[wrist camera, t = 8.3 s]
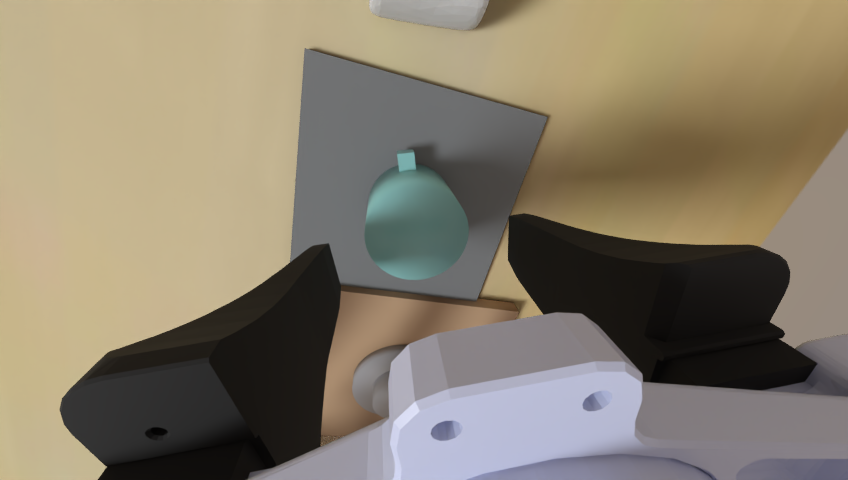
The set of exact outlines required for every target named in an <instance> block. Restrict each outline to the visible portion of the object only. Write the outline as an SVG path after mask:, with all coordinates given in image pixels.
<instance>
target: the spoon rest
mask: <svg viewBox="0 0 848 480" xmlns="http://www.w3.org/2000/svg"><path fill="white" fill-rule="evenodd" d="M488 3H489V0H370V1H369V7H370V11H371V12H372V13H373V14H375V15H377V16H379V17H383V18H388V19H393V20H398V21H405V22H411V23H417V24H422V25H428V26H435V27H442V28H449V29H456V30H471V29H474V28H475V27H477V26H478V24H479V23H480V21H481V19H482V17H483V15H484V13H485V11H486V8H487V6H488Z"/></svg>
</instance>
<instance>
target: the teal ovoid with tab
mask: <svg viewBox="0 0 848 480" xmlns="http://www.w3.org/2000/svg"><path fill="white" fill-rule="evenodd" d="M397 158H398V165H397V166H394V167H392V168H390V169H388V170H387V171H385V172H384V173H383V174H382V175H380V177H379V178H378V179H377V180H376V181H375V183H374V184H373V186H372V189H371V191H370V194H369V200H368V208H367V215H366V223H365V232H364V238H365V244H366V248H367V251H368V253H369V255H370V257H371V258H372V260H373V261H374V262H375V264H376V265H377V266H378V267H380V268H381V269H382V270H383V271H385V272H386V273H388V274H390V275H392V276H395V277H398V278H401V279H407V280H422V279H427V278H431V277H434V276H436V275H439V274H441V273H443V272H444V271H446V270H447V269H449V268H450V267H451V266H452V265H453V264H454V263H455V262H456V261H457V260H458V259H459V258H460V256H461V255H462V253H463V251H464V249H465V247H466V244H467V241H468V235H469V226H468V220H467V217H466V214H465V212H464V210H463V208H462V207H461V205H460V203H459V202H458V200H457V199H456V197H455V196H454V194H453V193H452V191H451V190H450V188H449V187H448V185H447V184H446V182H445V181H444V179H443V178H442V177H441V176H440V175H439V174H438V173H437V172H435V171H434V170H433V169H431V168H429V167H427V166H424V165H420V164H415V155H414V151H413V149H410V150H401V151H397Z"/></svg>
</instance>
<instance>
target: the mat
mask: <svg viewBox="0 0 848 480" xmlns="http://www.w3.org/2000/svg"><path fill="white" fill-rule="evenodd" d="M547 118H548V117H546V116H542V115H539V114H535V113H532V112H528V111H525V110H521V109H518V108H514V107H511V106H507V105H503V104H500V103H496V102H493V101H489V100H486V99H482V98H479V97H475V96H472V95H468V94H465V93H461V92H458V91H454V90H450V89H447V88H443V87H440V86H436V85H433V84H429V83H426V82H422V81H419V80H415V79H412V78H408V77H405V76H401V75H397V74H394V73H390V72H387V71H383V70H380V69H376V68H373V67H369V66H366V65H362V64H359V63H355V62H352V61H348V60H344V59H341V58H337V57H334V56H330V55H327V54H323V53H320V52H316V51H313V50H309V49H306V48H305V52H304V67H303V82H302V96H301V111H300V126H299V140H298V155H297V170H296V185H295V199H294V214H293V229H292V243H291V258H290V262H291V261H293V260H294V259H295V258H296V257H298V256H299V255H300V254H301V253H303V252H304V251H305V250H307V249H308V248H310V247H311V246H313V245H320V244H326V243H329V245H330V249H331V252H332V256H333V259H334V263H335V266H336V270H337V274H338V277H339V281H340V284H341V285H343V286H352V287H360V288H368V289H376V290H385V291H393V292H401V293H409V294H418V295H426V296H434V297H442V298H451V299H459V300H467V301H475V302H476V301H477V298H478V296H479V293H480V291H481V288H482V285H483V283H484V280H485V278H486V275H487V272H488V270H489V267H490V265H491V262H492V260H493V257H494V254H495V252H496V249H497V247H498V244H499V242H500V239H501V236H502V234H503V231H504V229H505V226H506V223H507V221H508V218H509V216H510V213H511V211H512V208H513V205H514V203H515V200H516V198H517V195H518V192H519V190H520V187H521V185H522V182H523V180H524V177H525V174H526V172H527V169H528V167H529V164H530V161H531V159H532V156H533V154H534V151H535V149H536V146H537V143H538V141H539V138H540V136H541V133H542V130H543V128H544V125H545V123H546V120H547ZM410 149H413V151H414V155H415V164H420V165H424V166H427V167H429V168H431V169H433V170H434V171H435V172H437V173H438V174H439V175H440V176H441V177H442V178H443V179H444V181H445V182H446V184H447V185H448V187H449V188H450V190H451V191H452V193H453V194H454V196H455V197H456V199H457V200H458V202H459V203H460V205H461V207H462V208H463V210H464V212H465V214H466V217H467V220H468V226H469V235H468V241H467V244H466V247H465V249H464V251H463V253H462V255H461V256H460V258H459V259H458V260H457V261H456V262H455V263H454V264H453V265H452V266H451V267H450V268H449V269H447V270H446V271H444V272H443V273H441V274H439V275H436V276H434V277H431V278H427V279H422V280H407V279H401V278H398V277H395V276H392V275H390V274H388V273H386V272H385V271H383V270H382V269H381V268H380V267H378V266H377V265H376V264H375V262H374V261H373V260H372V258H371V257H370V255H369V253H368V251H367V248H366V244H365V238H364V232H365V223H366V215H367V208H368V200H369V194H370V191H371V189H372V186H373V184H374V183H375V181H376V180H377V179H378V178H379V177H380V175H382V174H383V173H384V172H385V171H387V170H388V169H390V168H392V167H394V166H397V165H398V158H397V151H401V150H410Z"/></svg>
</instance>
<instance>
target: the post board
mask: <svg viewBox="0 0 848 480" xmlns="http://www.w3.org/2000/svg"><path fill="white" fill-rule="evenodd" d="M518 314H519V311H518V309H517V308H516V306H515V304H514V303H511V302H503V301H495V300H487V299H479V298H477V301H476V302H475V301H467V300H459V299H451V298H442V297H434V296H426V295H418V294H409V293H401V292H393V291H385V290H376V289H368V288H360V287H352V286H343V285H341V298H340V309H339V314H338V318H337V323H336V327H335V332H334V336H333V340H332V345H331V349H330V353H329V359H328V364H327V372H326V381H325V390H324V402H323V413H322V427H321V436H346V435H348V434H350V433H353V432H355V431H357V430H359V429H362V428H364V427H366V426H368V425H371V424H373V423H375V422H377V421H380V420H382V419H384V418H386V417H389V392H388V381H389V374H390V367H391V362H392V361H393V360H394V359H395V358H396V357H397V356H398V355H399V354H400V353H401V352H402V351H403V350H404V348H405V347H406V346H407V345H408V344H410V343H413V342H415V341H418V340H421V339H423V338H426V337H428V336H431V335H433V334H436V333H442V332H447V331H453V330H459V329H465V328H470V327H476V326H482V325H487V324H493V323H499V322H505V321H510V320H516V318H517V316H518Z"/></svg>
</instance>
